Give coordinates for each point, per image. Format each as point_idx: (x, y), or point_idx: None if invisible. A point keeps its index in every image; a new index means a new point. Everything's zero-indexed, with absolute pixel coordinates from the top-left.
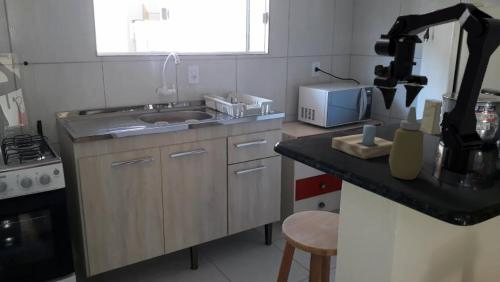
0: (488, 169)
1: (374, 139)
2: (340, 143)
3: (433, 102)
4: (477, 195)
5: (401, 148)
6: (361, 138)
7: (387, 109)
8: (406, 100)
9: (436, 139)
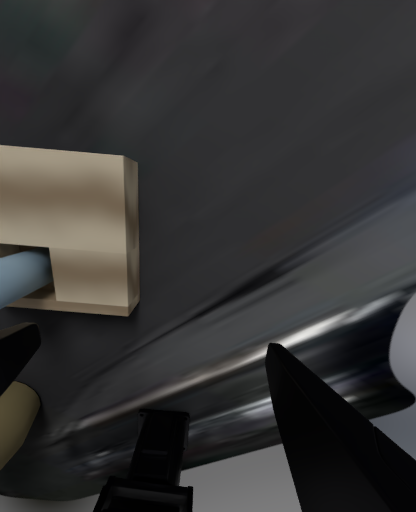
0: (220, 451)
1: (19, 298)
2: None
3: None
4: (71, 483)
5: None
6: (52, 209)
7: (30, 334)
8: (292, 393)
9: (409, 276)
